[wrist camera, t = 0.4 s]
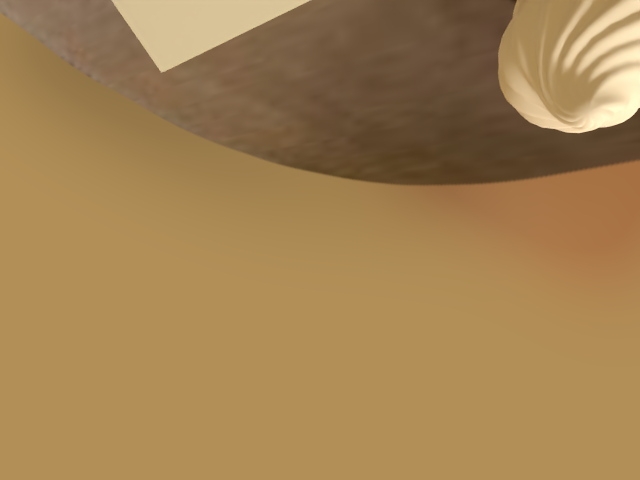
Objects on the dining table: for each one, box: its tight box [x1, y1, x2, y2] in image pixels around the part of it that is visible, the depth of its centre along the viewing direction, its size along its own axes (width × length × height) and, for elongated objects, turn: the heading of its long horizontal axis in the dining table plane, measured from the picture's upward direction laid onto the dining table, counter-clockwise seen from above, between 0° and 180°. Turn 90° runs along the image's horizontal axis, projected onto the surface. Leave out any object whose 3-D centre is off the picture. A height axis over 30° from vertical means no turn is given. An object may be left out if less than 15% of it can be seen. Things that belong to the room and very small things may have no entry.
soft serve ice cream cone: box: [498, 0, 640, 133], centre depth 28 cm, size 8×8×16 cm
